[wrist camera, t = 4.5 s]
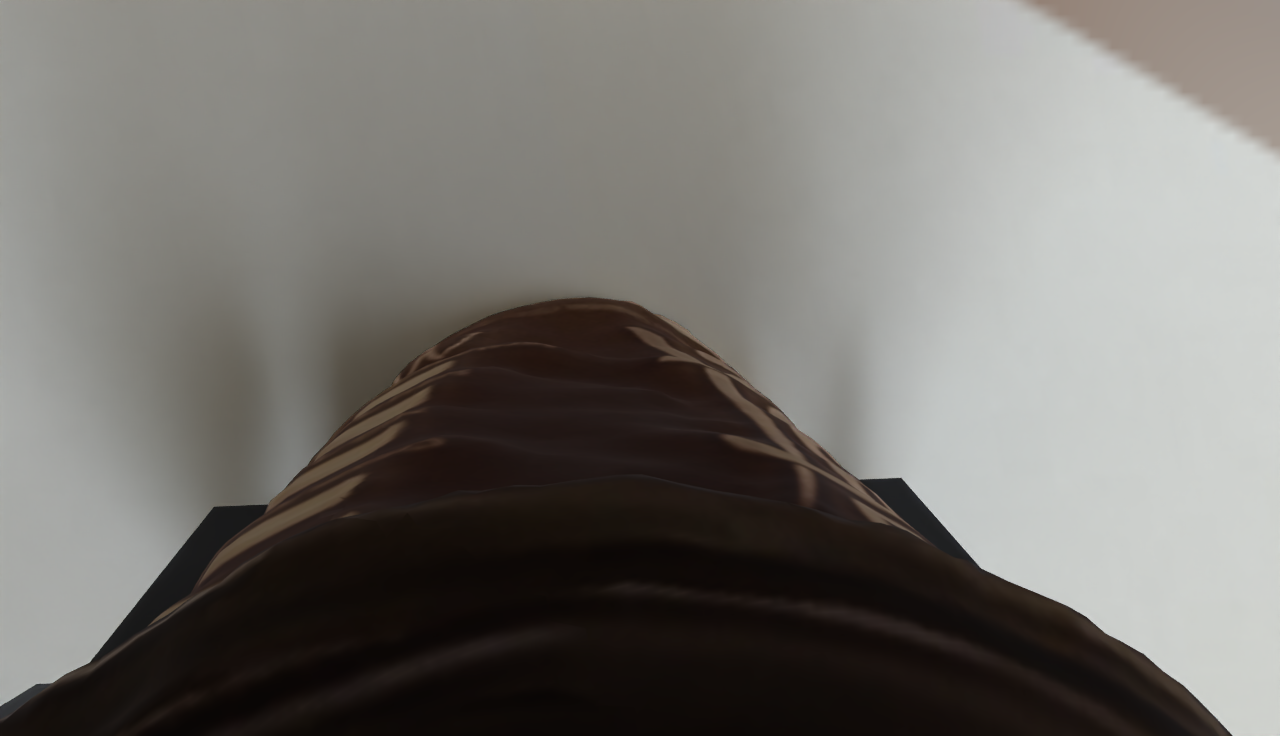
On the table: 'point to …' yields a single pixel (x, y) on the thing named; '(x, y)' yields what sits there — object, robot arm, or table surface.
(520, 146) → the table surface
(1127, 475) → the table surface
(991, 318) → the table surface
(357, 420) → the coffee cup
